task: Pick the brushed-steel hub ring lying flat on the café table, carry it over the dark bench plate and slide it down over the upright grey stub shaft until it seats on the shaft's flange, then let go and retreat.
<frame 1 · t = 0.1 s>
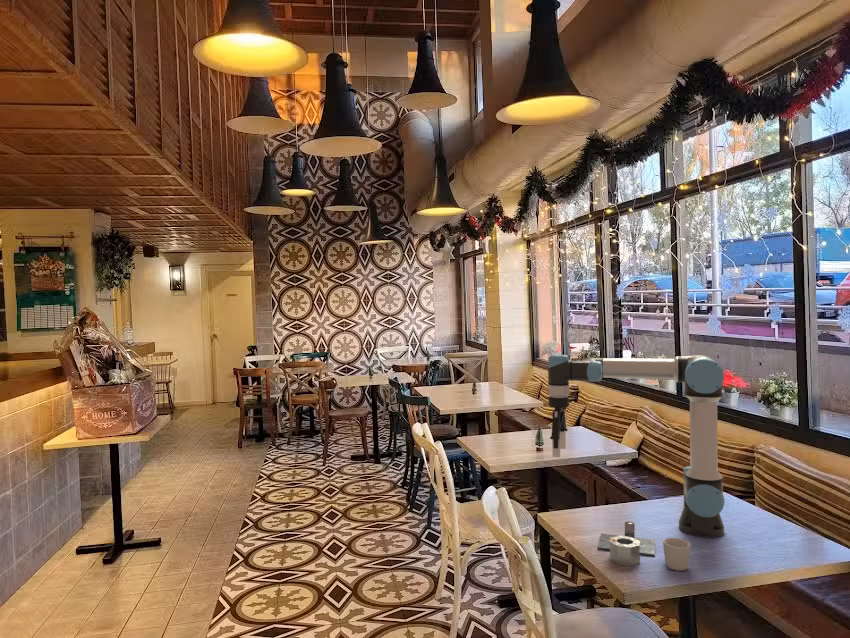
hand: (559, 452, 222), 28 cm above the table, fingers open, 13 cm apart
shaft: (629, 546, 204), on the table
cup: (674, 566, 188), on the table
hub: (625, 559, 193), on the table
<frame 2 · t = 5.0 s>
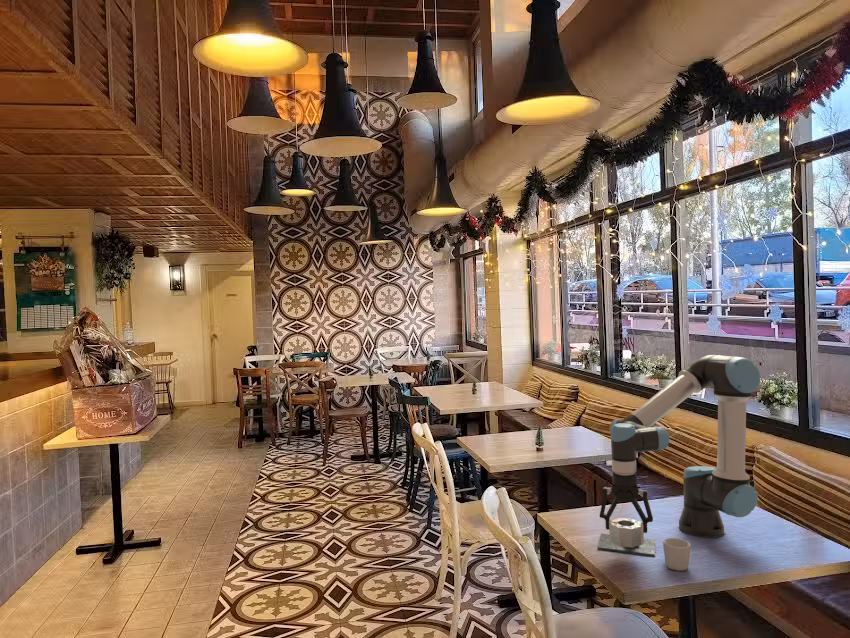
hand: (626, 540, 193), 6 cm above the table, fingers closed on hub, 9 cm apart
hub: (626, 541, 193), point 6 cm above the table, touching gripper
everything else where it was.
when the fingers open (3 cm above the table, at t = 8.8 s): hub stays where it is, resting on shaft.
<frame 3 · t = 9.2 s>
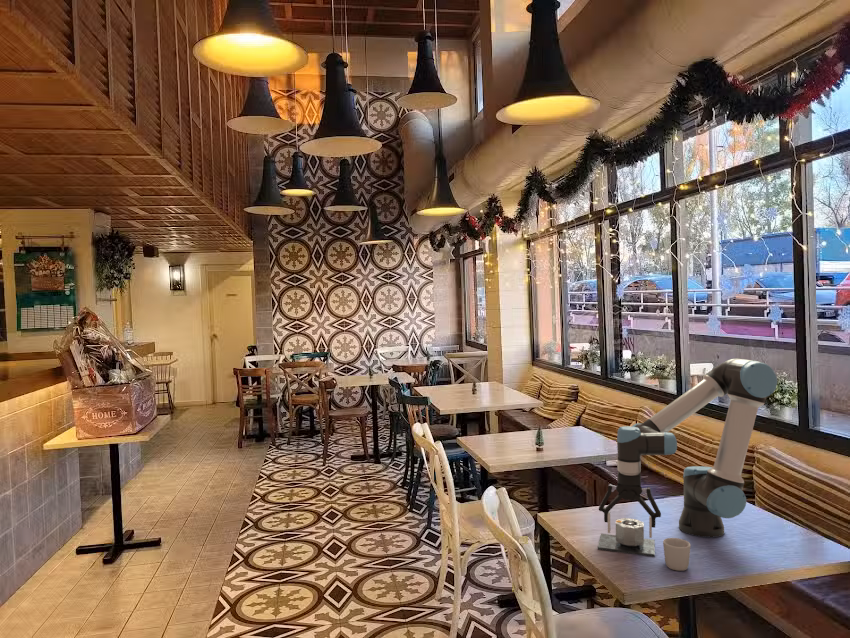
hand: (629, 534, 204), 4 cm above the table, fingers open, 13 cm apart
hub: (629, 540, 204), point 2 cm above the table, touching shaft
everything else where it was.
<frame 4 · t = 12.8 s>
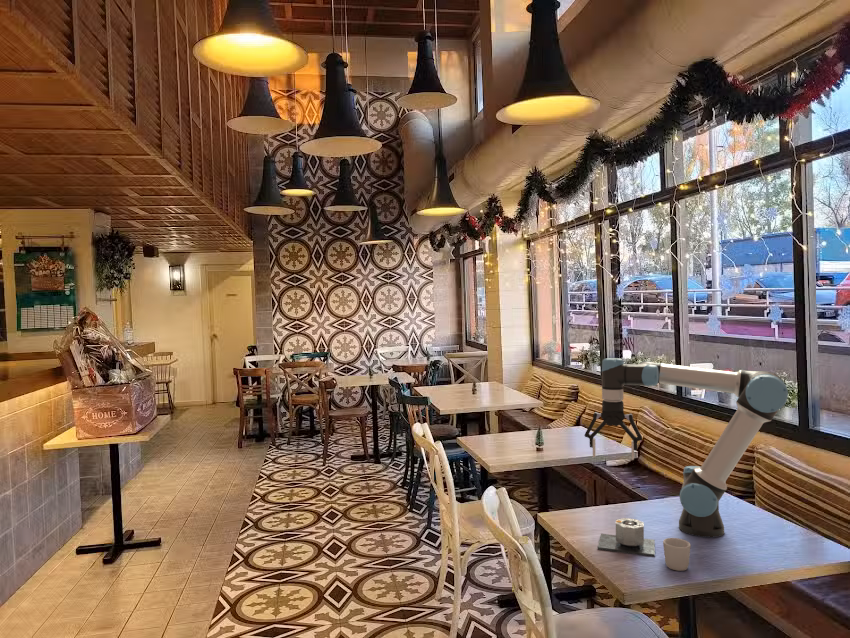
hand: (613, 457, 218), 27 cm above the table, fingers open, 13 cm apart
nothing on the table moved.
at the end: hub 0.1 cm off-centre on the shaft, point 2.0 cm above the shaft's base; hub tilted 0°; the gripper is holding nothing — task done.
